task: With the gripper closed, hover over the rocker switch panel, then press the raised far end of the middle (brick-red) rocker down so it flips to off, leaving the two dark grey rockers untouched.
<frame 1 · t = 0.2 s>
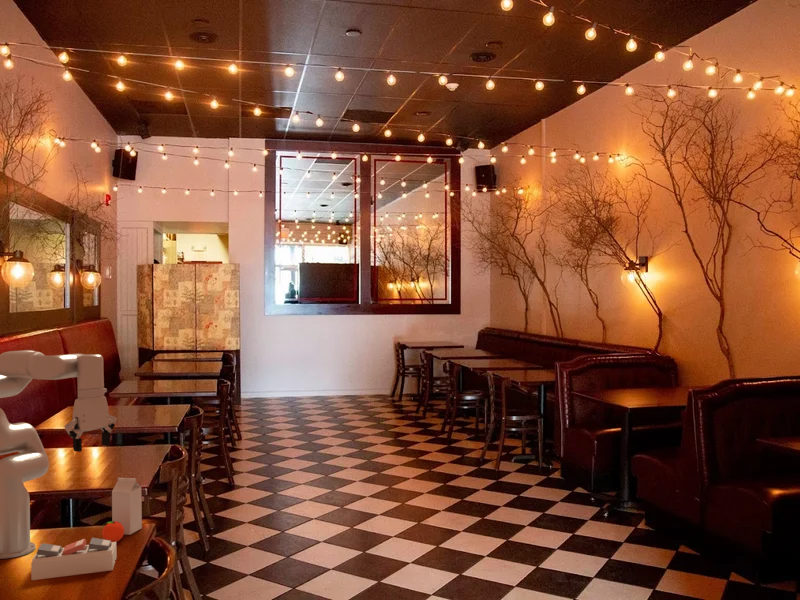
hand: (92, 448, 207), 36 cm above the table, tool pointing down, fingers open, 9 cm apart
rocker mid: (74, 547, 201), point 7 cm above the table, hinge at -16.0°
rocker switch panel: (75, 568, 202), on the table
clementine: (112, 542, 225), on the table
rocker 1: (49, 549, 199), point 7 cm above the table, hinge at 16.0°
milk carton: (127, 532, 236), on the table
rocker 3: (99, 544, 203), point 7 cm above the table, hinge at 16.0°
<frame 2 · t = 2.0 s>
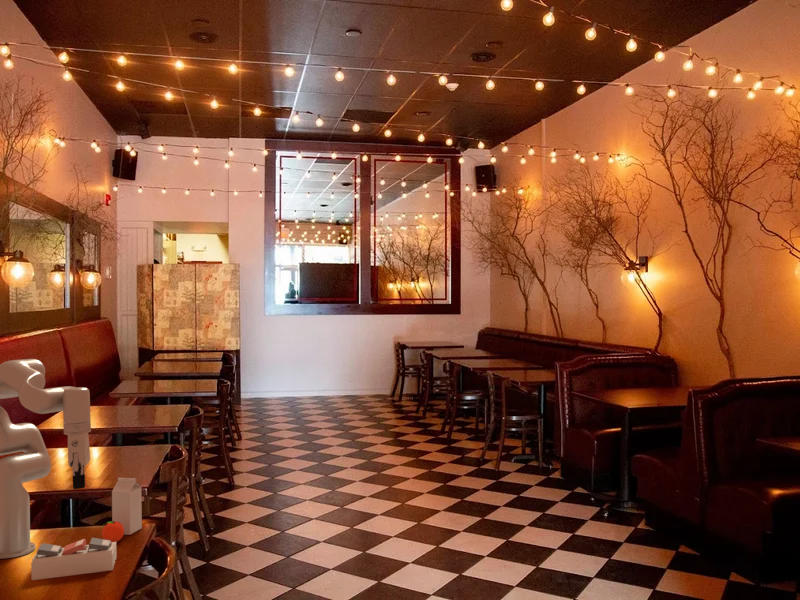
hand: (79, 487, 202), 25 cm above the table, tool pointing down, fingers closed
nothing on the table moved.
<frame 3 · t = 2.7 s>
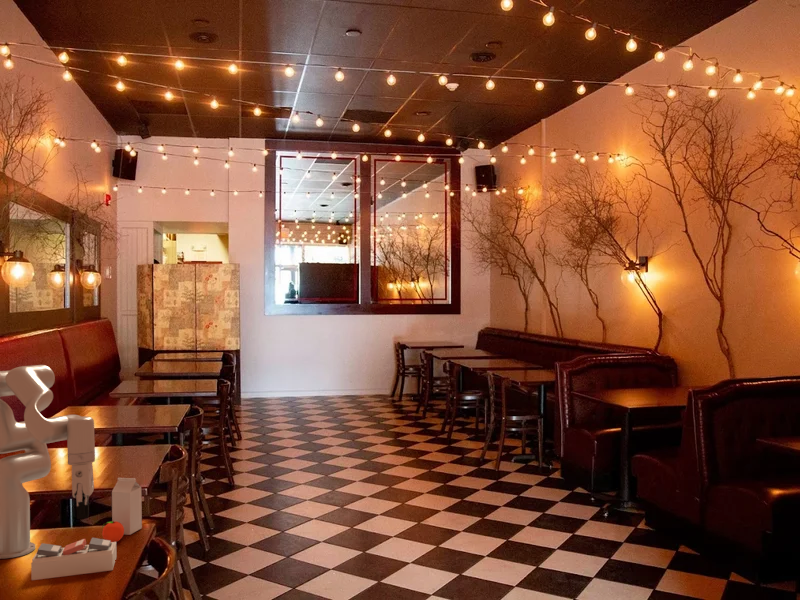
hand: (82, 517, 202), 16 cm above the table, tool pointing down, fingers closed
nothing on the table moved.
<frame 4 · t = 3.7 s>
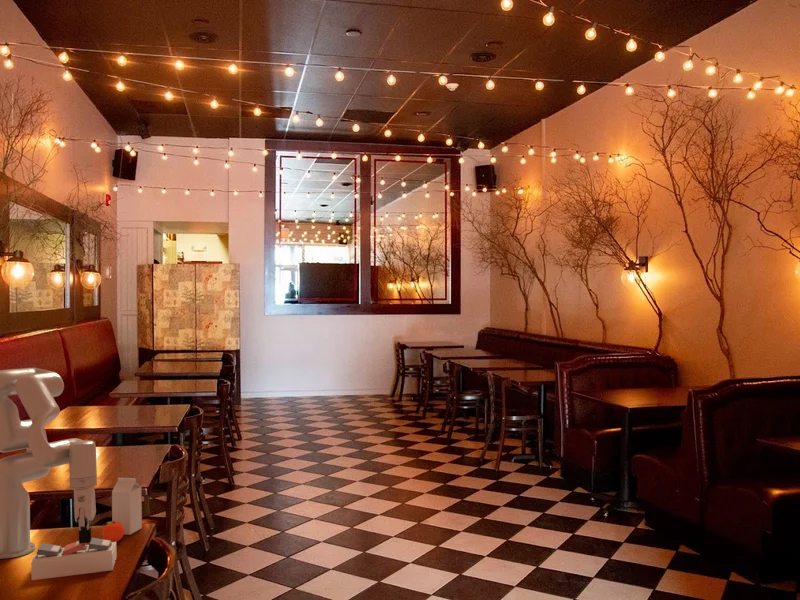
hand: (85, 542, 202), 8 cm above the table, tool pointing down, fingers closed
rocker mid: (74, 547, 201), point 7 cm above the table, hinge at -14.6°, touching gripper
everything else where it was.
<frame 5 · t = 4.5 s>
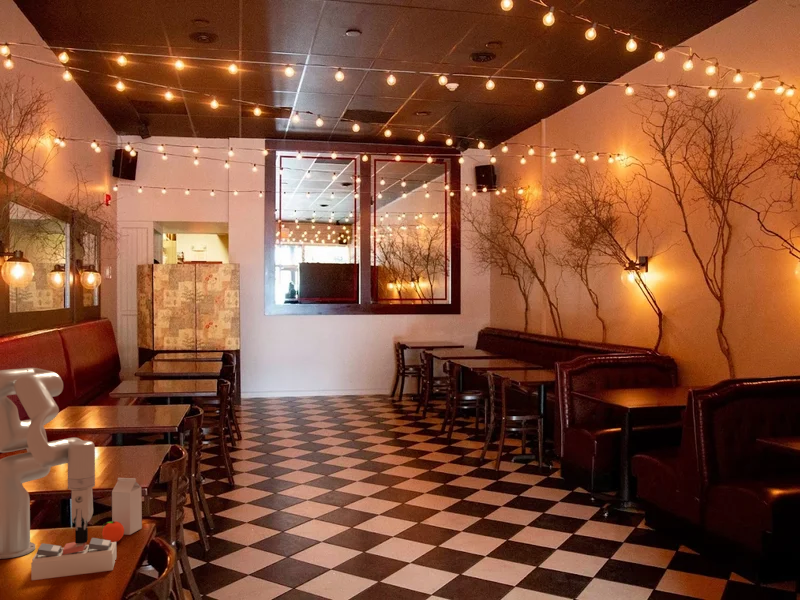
hand: (81, 542, 202), 8 cm above the table, tool pointing down, fingers closed
rocker mid: (74, 547, 201), point 7 cm above the table, hinge at -4.4°
everything else where it was.
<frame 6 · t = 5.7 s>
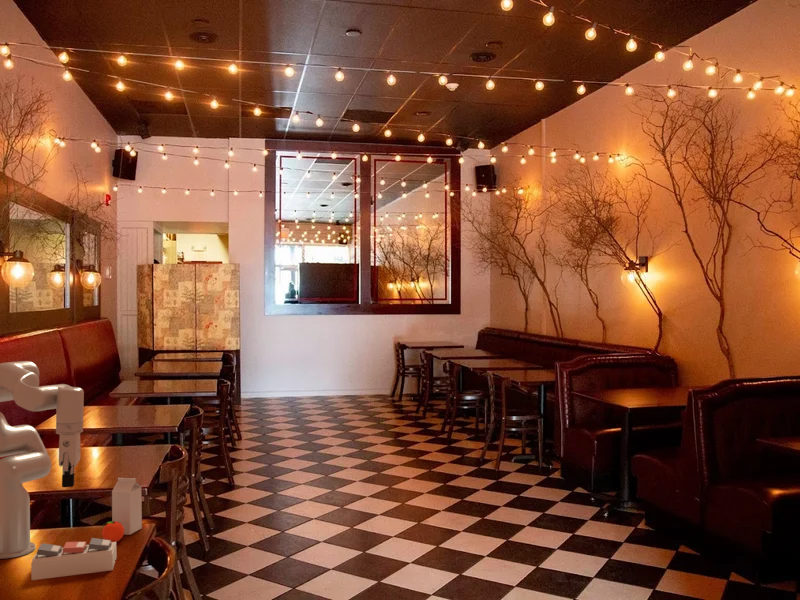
hand: (68, 486, 205), 25 cm above the table, tool pointing down, fingers closed
rocker mid: (74, 547, 201), point 7 cm above the table, hinge at 5.7°
rocker 3: (99, 544, 203), point 7 cm above the table, hinge at 14.4°
everything else where it was.
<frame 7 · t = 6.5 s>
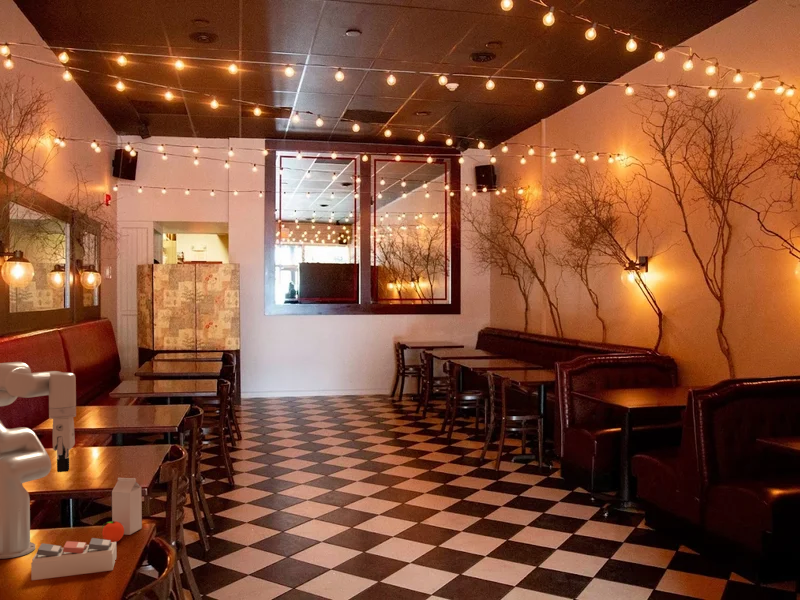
hand: (63, 471, 206), 29 cm above the table, tool pointing down, fingers closed
rocker mid: (74, 547, 201), point 7 cm above the table, hinge at 10.9°
rocker 3: (99, 544, 203), point 7 cm above the table, hinge at 13.6°
everything else where it was.
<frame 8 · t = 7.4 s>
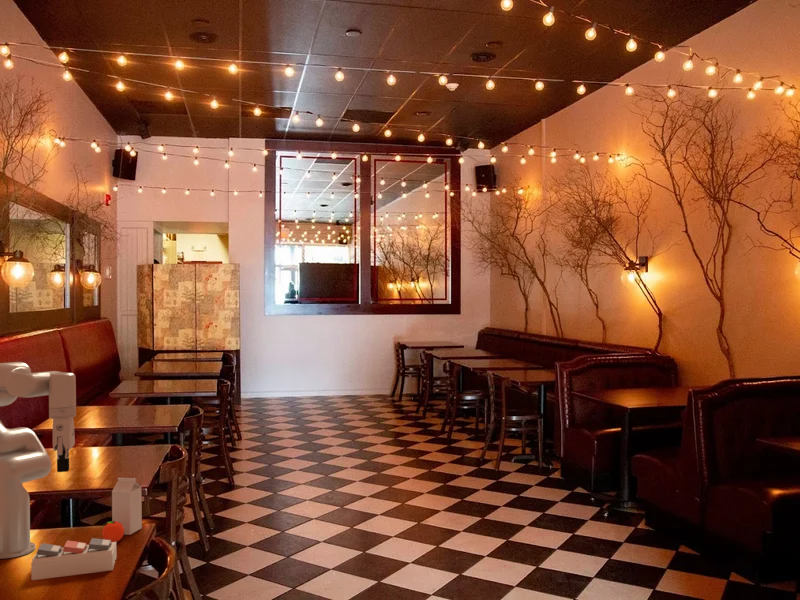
hand: (63, 471, 206), 29 cm above the table, tool pointing down, fingers closed
rocker mid: (74, 547, 201), point 7 cm above the table, hinge at 15.6°
rocker 3: (99, 544, 203), point 7 cm above the table, hinge at 13.0°
everything else where it was.
at the end: rocker mid at +16° (first picture: -16°); rocker 1 at +16° (first picture: +16°); rocker 3 at +13° (first picture: +16°) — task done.
